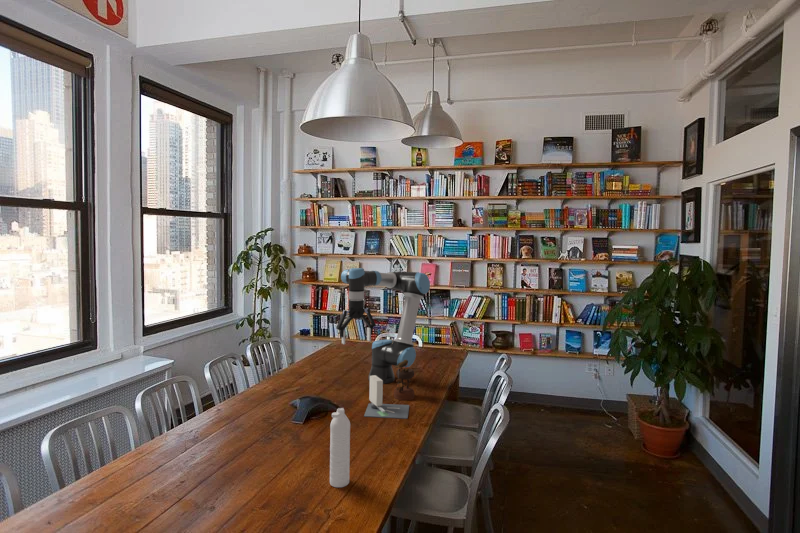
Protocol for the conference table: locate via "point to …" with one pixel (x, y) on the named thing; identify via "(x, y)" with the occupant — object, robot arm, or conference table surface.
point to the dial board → (388, 411)
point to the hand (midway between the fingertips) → (356, 342)
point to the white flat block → (376, 392)
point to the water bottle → (339, 449)
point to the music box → (404, 382)
